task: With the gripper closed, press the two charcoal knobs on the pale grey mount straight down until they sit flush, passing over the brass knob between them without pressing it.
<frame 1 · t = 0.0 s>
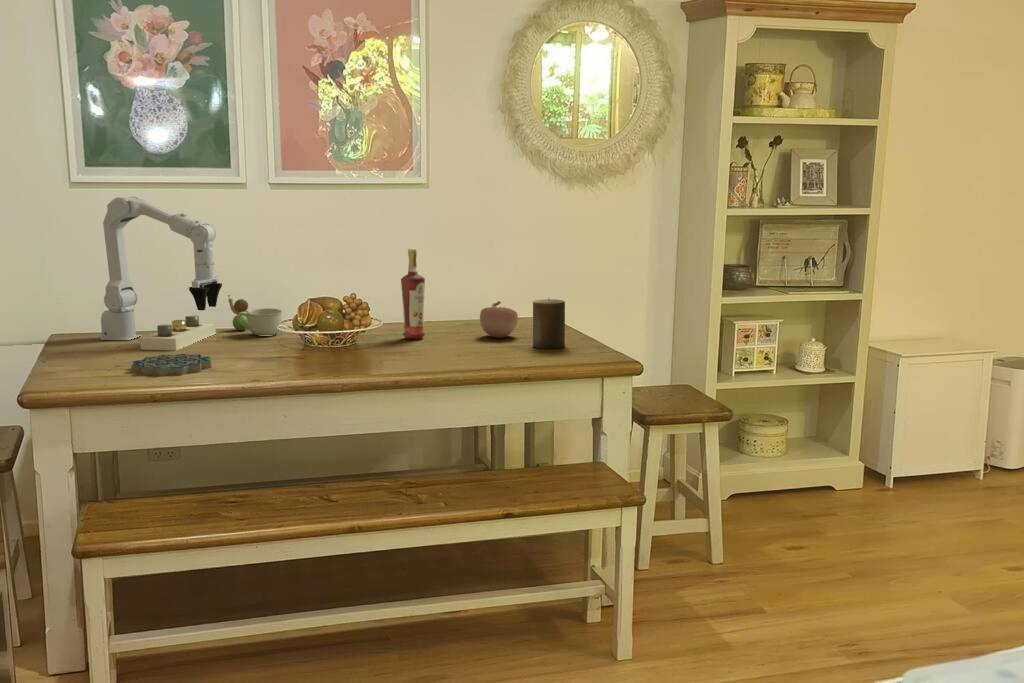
hand: (207, 308, 295), 10 cm above the table, fingers open, 7 cm apart
teacup: (261, 335, 307), on the table
mount: (179, 341, 295), on the table
liquor: (413, 339, 301), on the table
decorative tile: (172, 370, 257), on the table
knob near: (164, 330, 285), point 5 cm above the table, slide at 0.0 cm
knob far: (192, 321, 303), point 5 cm above the table, slide at 0.0 cm
snail figurine: (240, 331, 315), on the table
pink decorative apple: (498, 338, 303), on the table
knob brass: (178, 325, 294), point 5 cm above the table, slide at 0.0 cm
pillar candle: (548, 346, 289), on the table
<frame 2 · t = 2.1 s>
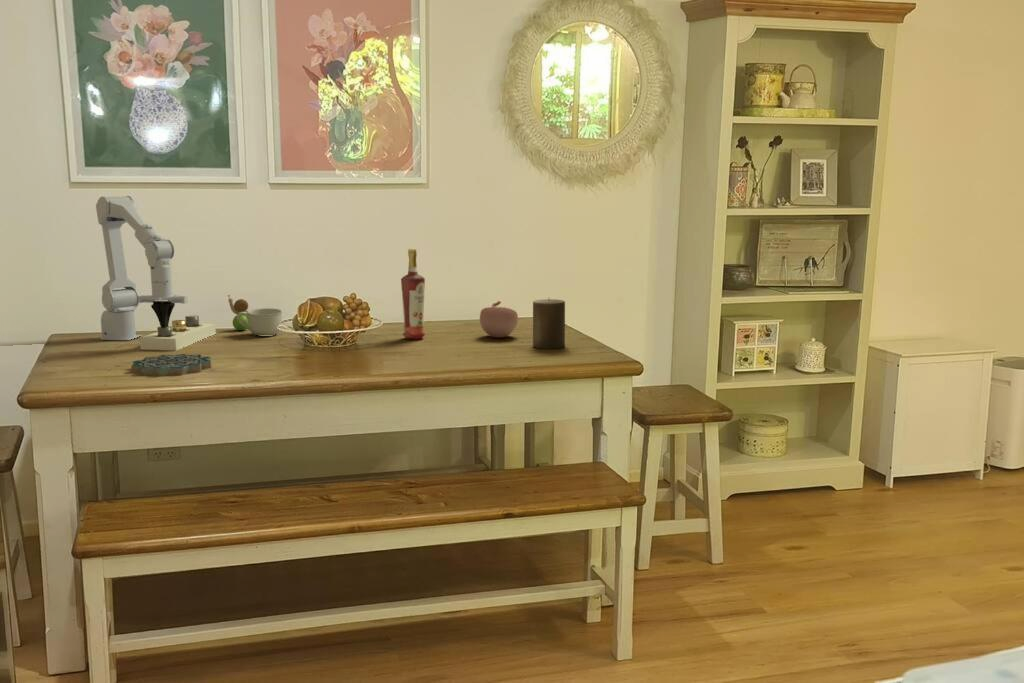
hand: (164, 327, 285), 6 cm above the table, fingers closed, pressing on knob near
knob near: (164, 332, 285), point 5 cm above the table, slide at 0.5 cm, touching gripper
everything else where it was.
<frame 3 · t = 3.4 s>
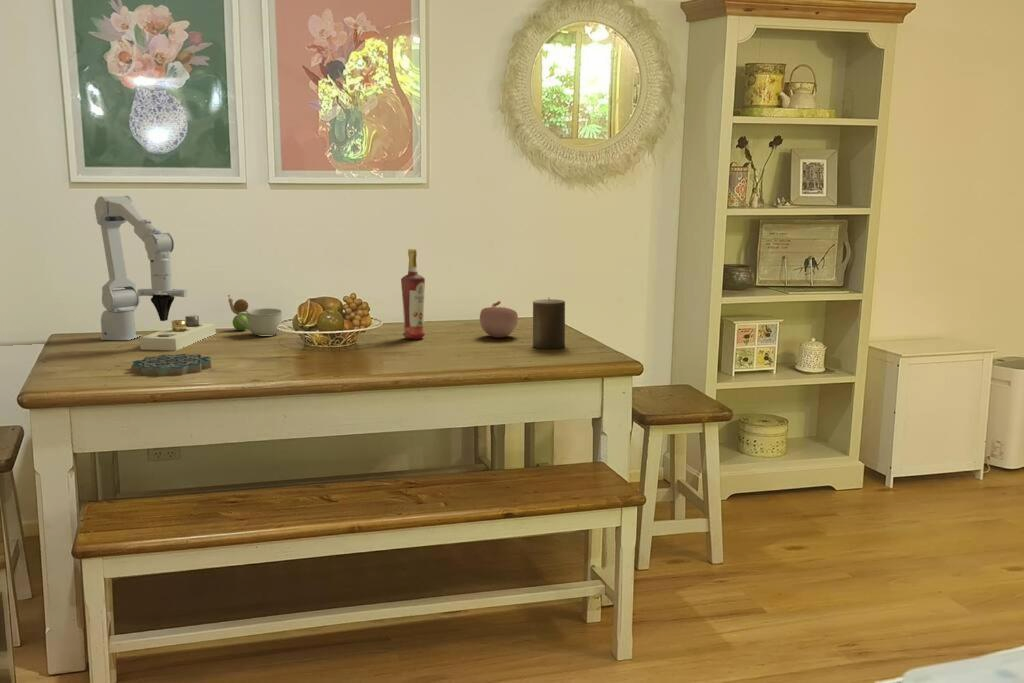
hand: (163, 320, 285), 8 cm above the table, fingers closed
knob near: (165, 339, 286), point 2 cm above the table, slide at 2.8 cm
everything else where it was.
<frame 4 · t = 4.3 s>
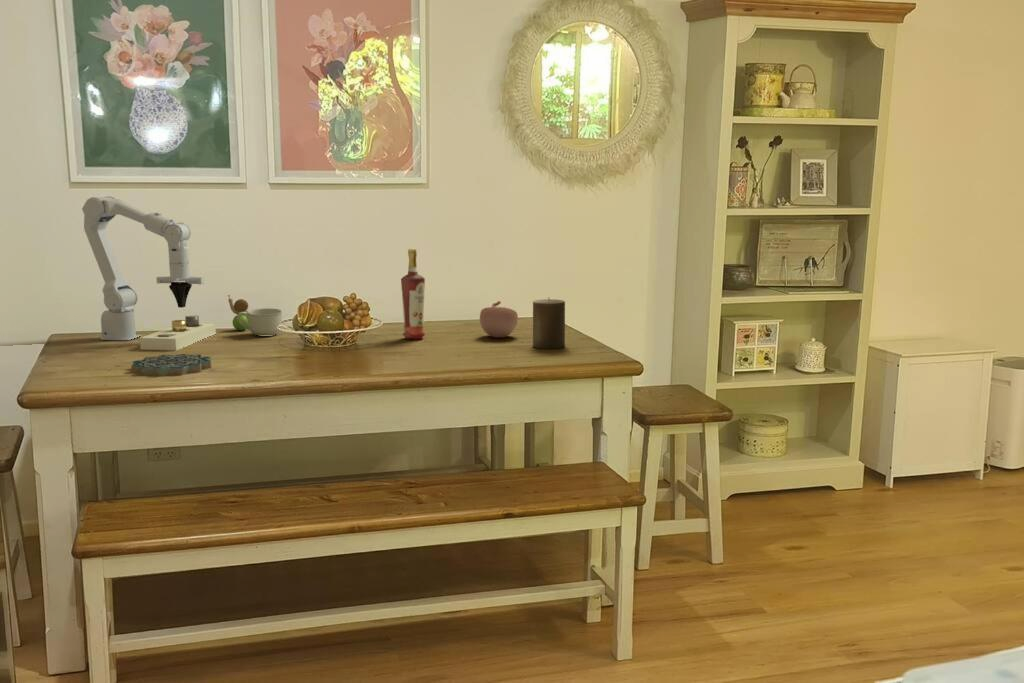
hand: (181, 307, 296), 10 cm above the table, fingers closed
nothing on the table moved.
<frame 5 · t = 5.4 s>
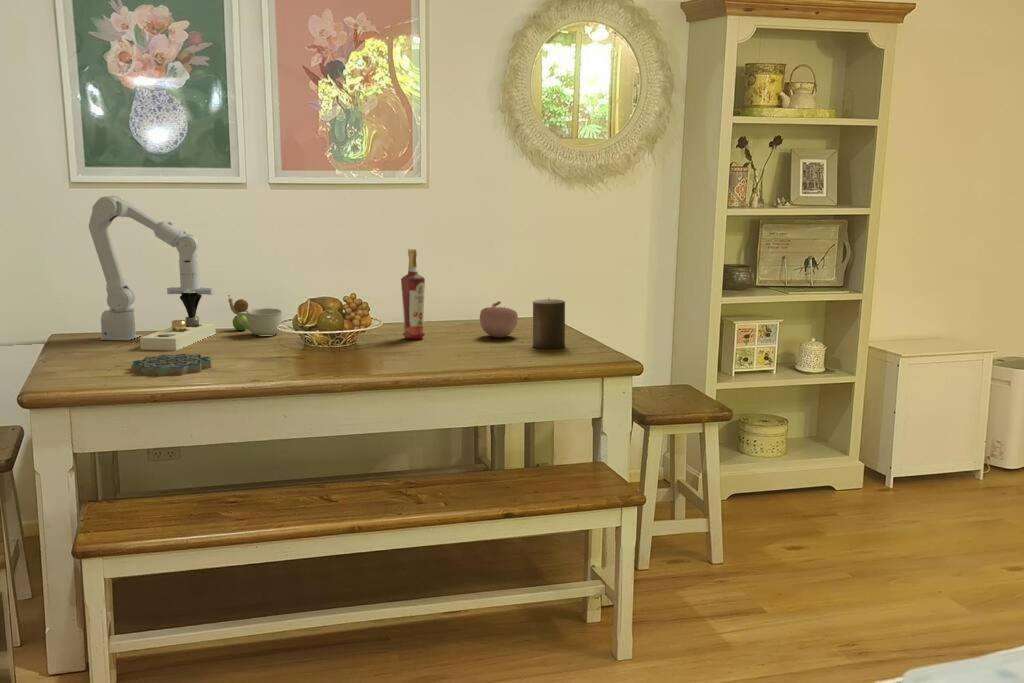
hand: (192, 317, 303), 6 cm above the table, fingers closed, pressing on knob far
knob far: (192, 321, 303), point 5 cm above the table, slide at 0.3 cm, touching gripper
everything else where it was.
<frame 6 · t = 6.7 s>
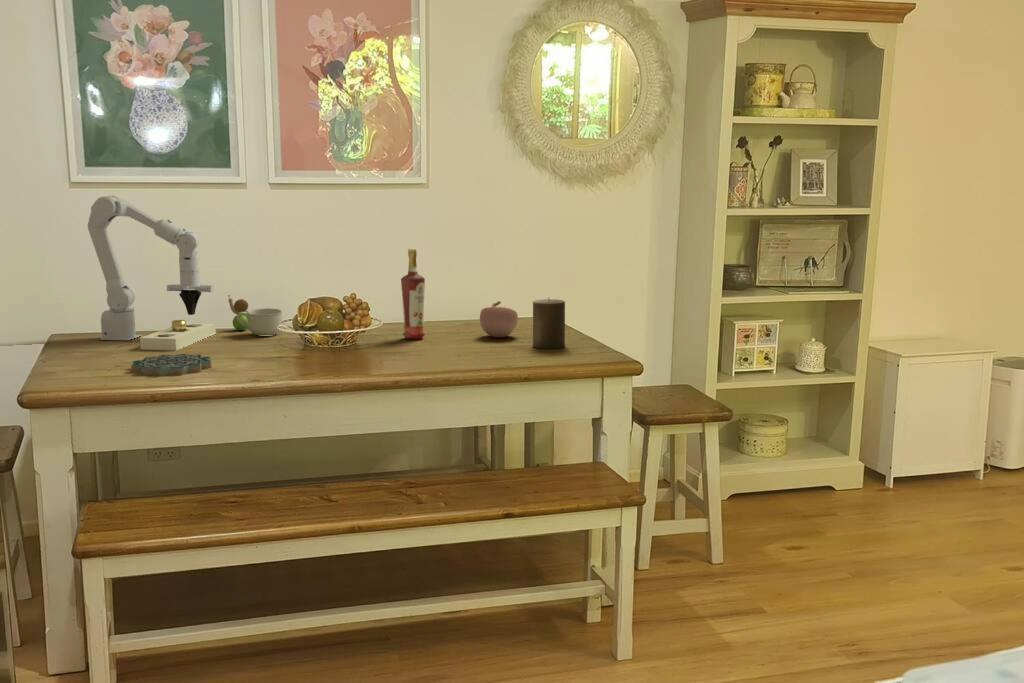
hand: (191, 314, 303), 7 cm above the table, fingers closed
knob far: (192, 329, 303), point 2 cm above the table, slide at 2.8 cm
everything else where it was.
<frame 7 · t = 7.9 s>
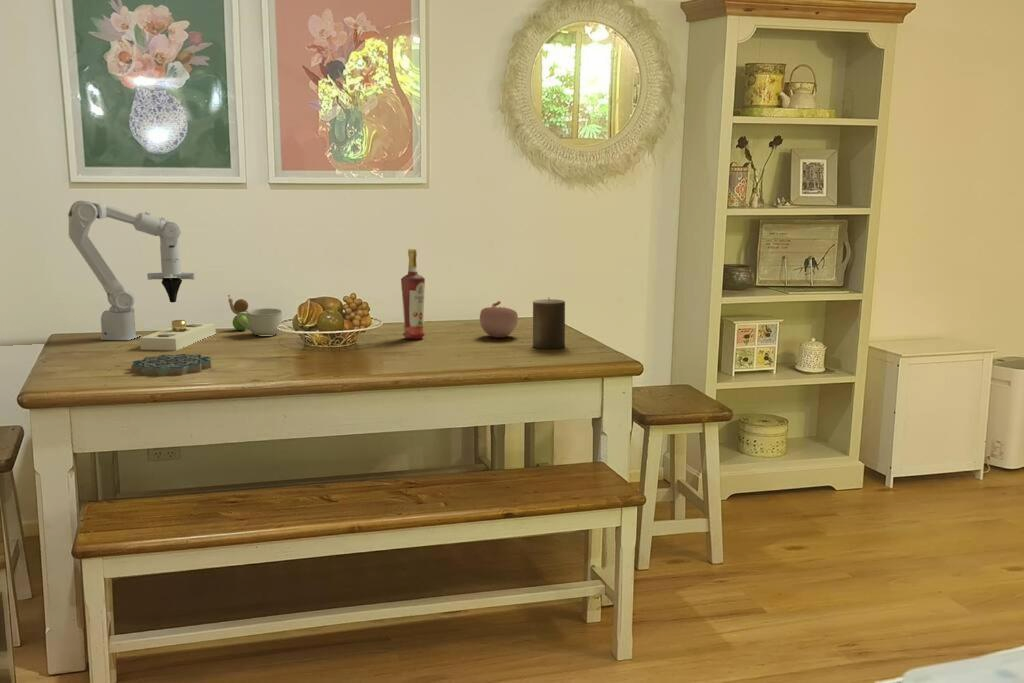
hand: (173, 302, 307), 10 cm above the table, fingers closed
nothing on the table moved.
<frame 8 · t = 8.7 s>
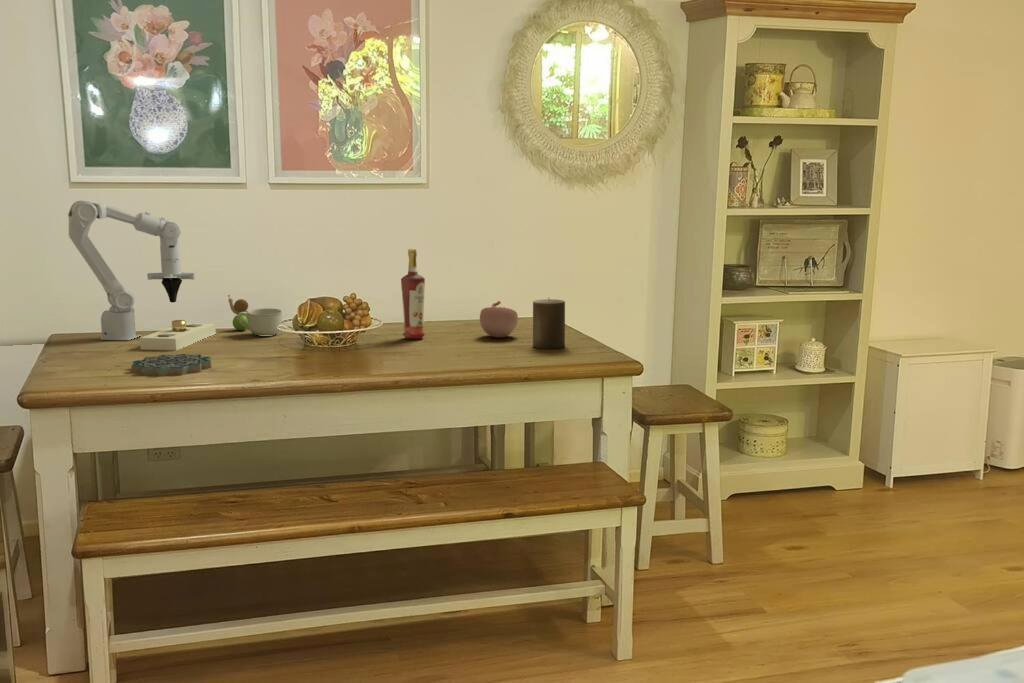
hand: (173, 302, 307), 10 cm above the table, fingers closed
nothing on the table moved.
at the end: knob near slide at 2.8 cm; knob far slide at 2.8 cm; knob brass slide at 0.0 cm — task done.
